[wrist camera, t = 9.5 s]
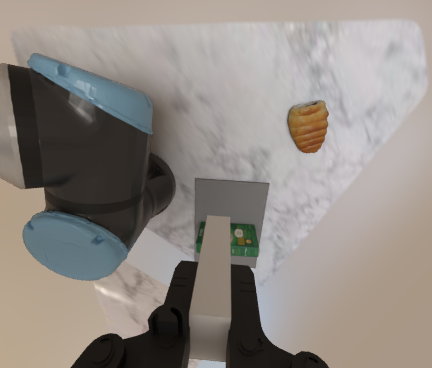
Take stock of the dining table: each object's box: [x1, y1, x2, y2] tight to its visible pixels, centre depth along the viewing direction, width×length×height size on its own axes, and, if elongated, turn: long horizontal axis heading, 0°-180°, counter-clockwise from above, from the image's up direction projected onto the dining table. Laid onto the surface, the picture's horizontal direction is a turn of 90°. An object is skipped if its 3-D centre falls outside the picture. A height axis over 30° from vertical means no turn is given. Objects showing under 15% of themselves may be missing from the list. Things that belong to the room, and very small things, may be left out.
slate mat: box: [195, 178, 269, 268], centre depth 48 cm, size 16×24×1 cm, turn 177°
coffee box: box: [195, 222, 259, 257], centre depth 44 cm, size 8×3×13 cm
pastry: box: [288, 100, 329, 153], centre depth 37 cm, size 9×7×4 cm
